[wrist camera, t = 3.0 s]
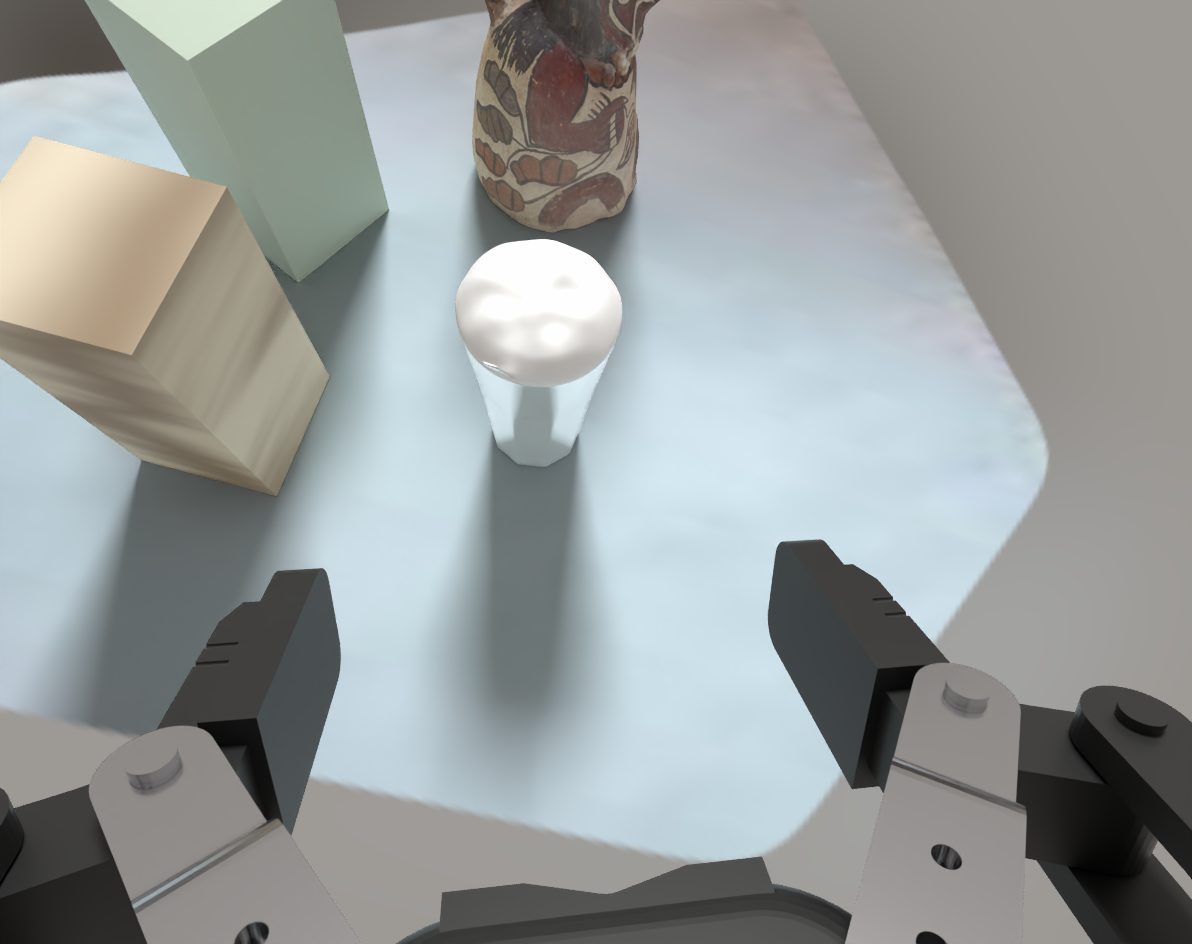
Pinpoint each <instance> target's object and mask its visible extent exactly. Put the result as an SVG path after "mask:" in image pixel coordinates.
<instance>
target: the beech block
mask: <svg viewBox="0 0 1192 944" xmlns="http://www.w3.org/2000/svg"><path fill="white" fill-rule="evenodd" d="M0 358H1V359H2V360H4V361H5V362H6V363H8V364H9V365H10V366H12V367H13V368H15V369H16V370H17V371H19V372H20V373H22V374H23V375H24V376H26V377H27V378H28V379H30V380H31V381H33V382H34V383H35V384H37V385H38V386H39V387H41V388H42V389H44V390H45V391H46V392H48V393H49V394H51V395H52V396H53V397H55V398H56V399H57V400H59V401H60V402H62V403H63V404H64V405H66V406H67V407H69V408H70V409H71V410H73V411H74V412H75V413H77V414H78V415H80V416H81V417H82V418H84V419H85V420H86V421H88V422H89V423H91V424H92V425H93V426H95V427H96V428H98V429H99V430H100V431H102V432H103V433H104V434H106V435H107V436H109V437H110V438H111V439H113V440H114V441H115V442H117V443H118V444H120V445H121V446H122V447H124V448H125V449H127V450H128V451H129V452H131V453H132V454H133V455H135V456H136V457H138V458H139V459H140V460H142V461H146V462H150V463H154V464H157V465H161V466H165V467H169V468H172V469H176V470H180V471H184V472H187V473H191V474H195V475H199V476H202V477H206V478H210V479H214V480H217V481H221V482H225V483H229V484H232V485H236V486H240V487H244V488H247V489H251V490H255V491H259V492H262V493H266V494H270V495H274V496H277V495H278V493H279V491H280V489H281V486H282V484H283V482H284V480H285V477H286V475H287V473H288V470H289V468H290V466H291V464H292V461H293V459H294V457H295V455H296V452H297V450H298V448H299V445H300V443H301V441H302V439H303V436H304V434H305V432H306V430H307V427H308V425H309V423H310V421H311V418H312V416H313V414H314V411H315V409H316V407H317V405H318V402H319V400H320V398H321V396H322V393H323V391H324V389H325V386H326V384H327V382H328V380H329V377H330V376H329V374H328V372H327V370H326V369H325V367H324V365H323V363H322V361H321V359H320V357H319V356H318V354H317V352H316V350H315V348H314V346H313V345H312V343H311V341H310V339H309V337H308V335H307V334H306V332H305V330H304V328H303V326H302V324H301V322H300V321H299V319H298V317H297V315H296V313H295V311H294V310H293V308H292V306H291V304H290V302H289V300H288V299H287V297H286V295H285V293H284V291H283V289H282V288H281V286H280V284H279V282H278V280H277V278H276V276H275V275H274V273H273V271H272V269H271V267H270V265H269V264H268V262H267V260H266V258H265V256H264V254H263V253H262V251H261V249H260V247H259V245H258V243H257V241H256V240H255V238H254V236H253V234H252V232H251V230H250V229H249V227H248V225H247V223H246V221H245V219H244V218H243V216H242V214H241V212H240V210H239V208H238V207H237V205H236V203H235V201H234V199H233V197H232V195H231V194H230V192H229V190H228V188H227V187H225V186H222V185H218V184H214V183H210V182H207V181H203V180H199V179H195V178H191V177H188V176H184V175H180V174H176V173H173V172H169V171H165V170H161V169H158V168H154V167H150V166H146V165H143V164H139V163H135V162H131V161H127V160H124V159H120V158H116V157H112V156H109V155H105V154H101V153H97V152H94V151H90V150H86V149H82V148H79V147H75V146H71V145H67V144H63V143H60V142H56V141H52V140H48V139H45V138H41V137H37V136H33V138H32V139H31V141H30V142H29V143H28V145H27V146H26V148H25V149H24V150H23V152H22V153H21V155H20V156H19V157H18V159H17V160H16V161H15V163H14V164H13V166H12V167H11V168H10V170H9V171H8V173H7V174H6V175H5V177H4V178H3V180H2V181H1V182H0Z"/></svg>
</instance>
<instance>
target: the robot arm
mask: <svg viewBox="0 0 1192 944" xmlns="http://www.w3.org/2000/svg"><path fill="white" fill-rule="evenodd" d="M768 626H769V633H770V637H771V640H772V643H773V646H774V648H775V650H776V652H777V653H778V655H779V657H780V659H781V661H782V662H783V664H784V666H785V668H786V670H787V672H788V673H789V675H790V677H791V679H792V681H793V683H794V684H795V686H796V688H797V690H798V692H799V693H800V695H801V697H802V699H803V701H804V703H805V704H806V706H807V708H808V710H809V712H810V714H811V715H812V717H813V719H814V721H815V723H816V724H817V726H818V728H819V730H820V732H821V734H822V735H823V737H824V739H825V741H826V743H827V745H828V746H829V748H830V750H831V752H832V754H833V755H834V757H835V759H836V761H837V763H838V765H839V766H840V768H841V770H842V772H843V774H844V776H845V777H846V779H847V781H848V783H849V785H850V787H851V788H852V789H857V788H866V787H876V786H879V787H880V788H881V790H882V792H883V793H884V794H883V798H882V802H881V806H880V810H879V814H878V818H877V822H876V825H875V829H874V833H873V838H872V841H871V845H870V849H869V853H868V857H867V860H866V864H865V868H864V872H863V876H862V880H861V884H860V887H859V891H858V895H857V899H856V903H855V907H854V911H853V915H851V914H849V913H848V912H847V911H845V910H843V909H842V908H840V907H838V906H836V905H834V904H832V903H830V902H828V901H826V900H824V899H822V898H820V897H818V896H815V895H812V894H810V893H807V892H805V891H802V890H799V889H795V888H791V887H787V886H783V885H778V884H772V882H771V880H770V877H769V874H768V872H767V869H766V866H765V863H764V861H763V858H762V857H754V858H745V859H737V860H728V861H719V862H710V863H701V864H692V865H686V866H683V867H680V868H678V869H675V870H673V871H670V872H667V873H665V874H662V875H660V876H657V877H655V878H652V879H650V880H647V881H644V882H642V883H639V884H637V885H634V886H632V887H629V888H626V889H624V890H621V891H619V892H616V893H612V894H598V893H591V892H583V891H576V890H569V889H560V888H554V887H546V886H539V885H531V884H516V885H515V884H514V885H506V886H496V887H488V888H479V889H470V890H461V891H452V892H443V893H442V902H441V916H440V922H437V923H434V924H432V925H429V926H427V927H425V928H423V929H421V930H419V931H417V932H415V933H413V934H411V935H409V936H407V937H406V938H404V939H402V940H401V941H399V942H398V943H396V944H1022V932H1023V905H1024V877H1025V876H1024V875H1025V858H1028V859H1033V860H1037V862H1038V863H1039V864H1040V866H1041V867H1042V869H1043V870H1044V872H1045V873H1046V875H1047V876H1048V878H1049V879H1050V881H1051V882H1052V884H1053V885H1054V886H1055V888H1056V889H1057V891H1058V892H1059V894H1060V895H1061V897H1062V898H1063V899H1064V901H1065V903H1066V904H1067V905H1068V907H1069V908H1070V910H1071V911H1072V913H1073V914H1074V916H1075V917H1076V918H1077V920H1078V922H1079V923H1080V924H1081V926H1082V927H1083V929H1084V930H1085V932H1086V933H1087V935H1088V936H1089V938H1090V939H1091V940H1092V942H1093V943H1094V944H1192V899H1191V898H1190V897H1189V896H1188V895H1187V893H1186V892H1185V891H1184V890H1183V889H1182V888H1181V886H1180V885H1179V884H1178V883H1177V882H1176V881H1175V879H1174V878H1173V877H1172V876H1171V875H1170V873H1169V872H1168V871H1167V870H1166V869H1165V868H1164V866H1163V865H1162V864H1161V863H1160V862H1159V861H1158V859H1157V858H1156V857H1155V856H1154V855H1153V854H1152V852H1153V850H1154V848H1155V845H1156V843H1157V841H1159V842H1160V843H1161V844H1162V845H1163V846H1164V847H1165V849H1166V850H1167V851H1168V852H1169V853H1170V854H1171V856H1172V857H1173V858H1174V859H1175V860H1176V861H1177V862H1178V864H1179V865H1180V866H1181V867H1182V868H1183V869H1184V870H1185V871H1186V873H1187V874H1188V875H1189V876H1190V877H1191V879H1192V722H1191V721H1189V720H1188V719H1187V718H1186V717H1185V716H1184V715H1182V714H1181V713H1180V712H1178V711H1177V710H1175V709H1174V708H1172V707H1171V706H1169V705H1168V704H1166V703H1164V702H1162V701H1160V700H1158V699H1156V698H1154V697H1152V696H1149V695H1147V694H1144V693H1142V692H1138V691H1135V690H1132V689H1127V688H1123V687H1117V686H1096V687H1093V688H1089V689H1088V690H1086V691H1084V693H1083V694H1082V695H1081V698H1080V701H1079V703H1078V706H1077V708H1076V711H1075V712H1070V711H1063V710H1056V709H1049V708H1042V707H1036V706H1029V705H1024V704H1019V702H1018V700H1017V699H1016V697H1015V695H1014V694H1013V693H1012V692H1011V691H1010V690H1009V689H1008V688H1007V687H1006V686H1005V685H1004V684H1002V683H1001V682H999V681H998V680H997V679H995V678H994V677H992V676H990V675H988V674H986V673H984V672H982V671H980V670H977V669H974V668H972V667H968V666H964V665H960V664H954V663H950V662H949V661H948V660H947V659H946V658H945V657H944V655H943V654H942V653H941V652H940V651H939V650H938V649H937V647H936V646H935V645H934V644H933V643H932V642H931V640H930V639H929V638H928V637H927V636H926V635H925V634H924V632H923V631H922V630H921V629H920V628H919V627H918V626H917V624H916V623H915V622H914V621H913V620H912V619H911V617H910V616H906V612H905V611H904V609H903V608H902V607H901V606H900V605H899V604H898V603H897V601H893V597H892V596H891V595H890V593H889V592H888V591H887V590H886V589H885V588H884V586H883V585H882V584H881V583H880V582H879V581H878V580H877V579H876V578H874V577H873V576H871V575H869V574H868V573H866V572H865V571H863V570H861V569H860V568H858V567H856V566H855V565H853V564H849V565H844V564H843V563H842V562H841V561H840V559H839V558H838V557H837V556H836V554H835V553H834V552H833V551H832V550H831V548H830V547H829V546H828V545H827V543H826V542H825V541H823V540H820V539H819V540H803V541H786V542H781V543H780V544H779V545H778V547H777V550H776V555H775V562H774V570H773V578H772V586H771V593H770V601H769V609H768ZM206 645H207V647H206V649H203V651H202V653H201V654H200V656H199V658H198V660H197V661H196V667H193V668H192V670H191V672H190V673H189V675H188V677H187V678H186V680H185V682H184V684H183V685H182V687H181V689H180V690H179V692H178V694H177V696H176V697H175V699H174V701H173V702H172V704H171V706H170V708H169V709H168V711H167V713H166V714H165V716H164V718H163V720H162V721H161V723H160V725H159V726H158V728H157V730H155V731H152V732H149V733H146V734H144V735H142V736H139V737H137V738H135V739H133V740H131V741H129V742H128V743H126V744H125V745H123V746H121V747H120V748H119V749H117V750H116V751H115V752H113V753H112V754H111V755H110V756H109V757H108V758H107V759H106V760H104V761H103V763H102V764H101V765H100V766H99V768H98V769H97V770H96V772H95V773H94V775H93V777H92V779H91V782H90V784H89V785H86V786H83V787H81V788H78V789H75V790H72V791H68V792H65V793H62V794H59V795H56V796H52V797H49V798H46V799H43V800H40V801H36V802H33V803H30V804H27V805H23V806H20V807H17V808H13V806H12V804H11V802H10V800H9V797H8V795H7V794H6V792H5V791H4V790H3V789H1V788H0V944H363V943H362V942H361V941H360V939H359V937H358V936H357V934H356V933H355V931H354V930H353V928H352V927H351V925H350V924H349V923H348V921H347V919H346V918H345V916H344V915H343V913H342V912H341V910H340V909H339V908H338V906H337V905H336V903H335V902H334V900H333V898H332V897H331V896H330V894H329V892H328V891H327V890H326V888H325V886H324V885H323V883H322V882H321V880H320V879H319V877H318V876H317V874H316V873H315V871H314V870H313V869H312V867H311V865H310V864H309V862H308V861H307V859H306V858H305V856H304V855H303V853H302V852H301V850H300V849H299V848H298V846H297V844H296V843H295V841H294V840H293V838H292V837H291V835H292V832H293V828H294V825H295V822H296V818H297V815H298V812H299V808H300V805H301V801H302V798H303V795H304V792H305V788H306V785H307V782H308V778H309V775H310V772H311V768H312V765H313V762H314V758H315V755H316V752H317V748H318V745H319V742H320V738H321V735H322V732H323V728H324V725H325V722H326V718H327V715H328V712H329V708H330V705H331V702H332V698H333V695H334V692H335V688H336V685H337V682H338V678H339V672H340V661H341V652H340V641H339V635H338V629H337V624H336V618H335V613H334V607H333V602H332V596H331V590H330V585H329V580H328V576H327V573H326V571H325V570H324V569H323V568H319V569H302V570H286V571H277V572H276V573H275V574H274V576H273V578H272V579H271V581H270V583H269V585H268V587H267V589H266V591H265V593H264V595H263V597H262V599H261V601H259V602H243V603H242V604H241V605H240V606H239V607H237V608H236V609H235V610H234V611H232V612H231V613H230V614H229V615H228V616H226V617H225V618H224V619H223V620H221V621H220V622H219V624H218V625H217V627H216V629H215V630H214V632H213V634H212V636H211V637H210V639H209V641H208V642H207V644H206Z"/></svg>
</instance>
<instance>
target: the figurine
mask: <svg viewBox="0 0 1192 944" xmlns="http://www.w3.org/2000/svg"><path fill="white" fill-rule="evenodd" d="M658 1H659V0H485V2H486V5H487V8H488V12H489V16H490V20H491V24H490V27H489V31H488V34H487V37H486V40H485V44H484V48H483V52H482V56H481V60H480V65H479V70H478V75H477V81H476V90H475V103H474V118H473V135H472V144H473V154H474V160H475V164H476V168H477V171H478V175H479V179H480V181H481V183H482V185H483V187H484V189H485V191H486V192H487V194H488V196H489V198H490V200H491V202H493V203H494V204H495V205H496V206H498V207H499V208H500V209H501V210H502V211H504V212H505V213H506V214H508V215H509V216H510V217H512V218H513V219H514V220H516V221H517V222H519V223H520V224H523V225H525V226H527V227H530V228H533V229H536V230H541V231H546V232H557V231H559V230H566V229H576V228H580V227H582V226H584V225H587V224H591V223H593V222H595V221H596V220H598V219H603V218H606V217H612V216H615V215H616V214H618V213H620V212H622V210H623V208H624V207H625V203H626V200H627V198H628V196H629V194H630V193H631V192H632V191H633V189H634V186H635V184H636V181H637V180H636V164H637V158H638V145H639V131H638V118H637V114H636V56H635V53H636V51H637V50H638V47H639V43H640V40H641V37H642V34H643V23H644V19H645V15H646V13H647V12H648V11H649V10H650V9H651V7H653V6H654V5H655V4H656V3H657V2H658Z"/></svg>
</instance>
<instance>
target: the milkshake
mask: <svg viewBox="0 0 1192 944" xmlns="http://www.w3.org/2000/svg"><path fill="white" fill-rule="evenodd" d="M455 310H456V319H457V324H458V328H459V332H460V335H461V338H462V340H463V343H464V346H465V349H466V351H467V354H468V357H469V360H470V362H471V365H472V368H473V370H474V373H475V376H476V378H477V381H478V384H479V386H480V389H481V392H482V395H483V398H484V402H485V405H486V408H487V412H488V415H489V419H490V422H491V426H492V429H493V433H494V436H495V440H496V443H497V446H498V448H499V449H500V450H502V451H503V452H504V453H505V454H507V455H508V456H509V457H510V458H511V459H513V460H514V461H515V462H516V463H517V464H519V465H529V466H540V467H547V466H549V465H550V464H552V463H554V462H556V461H558V460H559V459H561V458H563V457H565V456H567V455H569V453H570V451H571V449H572V447H573V444H574V442H575V440H576V438H577V435H578V433H579V431H580V429H581V426H582V423H583V420H584V417H585V415H586V412H587V409H588V406H589V403H590V401H591V398H592V395H593V392H594V389H595V387H596V385H597V383H598V381H599V379H600V377H601V375H602V373H603V370H604V368H605V366H606V363H607V361H608V359H609V356H610V354H611V352H612V350H613V347H614V345H615V342H616V340H617V338H618V335H619V332H620V328H621V323H622V302H621V297H620V294H619V291H618V289H617V287H616V286H615V284H614V283H613V281H612V280H611V279H610V277H609V276H608V275H607V273H606V272H605V271H604V269H603V268H602V267H601V266H600V264H599V263H598V262H597V261H596V260H595V259H594V258H592V257H591V256H590V255H588V254H586V253H585V252H582V251H580V250H578V249H575V248H573V247H571V246H568V245H566V244H563V243H561V242H558V241H554V240H548V239H536V240H526V241H516V242H509V243H504V244H501V245H498V246H496V247H494V248H492V249H491V250H489V251H488V252H486V253H485V254H483V255H482V256H481V257H480V258H479V259H478V260H477V261H476V262H475V263H474V265H473V266H472V267H471V269H470V270H469V272H468V273H467V275H466V276H465V278H464V279H463V281H462V283H461V285H460V287H459V289H458V292H457V295H456V302H455Z"/></svg>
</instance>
